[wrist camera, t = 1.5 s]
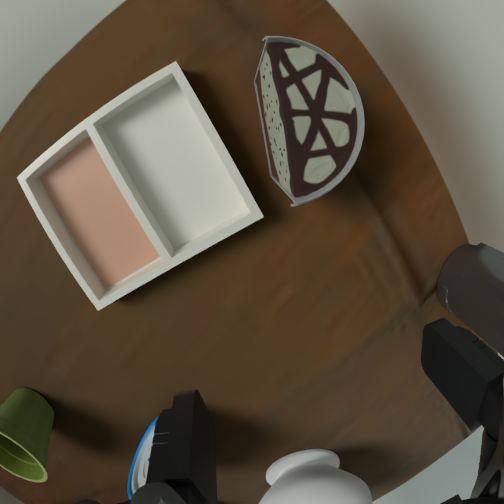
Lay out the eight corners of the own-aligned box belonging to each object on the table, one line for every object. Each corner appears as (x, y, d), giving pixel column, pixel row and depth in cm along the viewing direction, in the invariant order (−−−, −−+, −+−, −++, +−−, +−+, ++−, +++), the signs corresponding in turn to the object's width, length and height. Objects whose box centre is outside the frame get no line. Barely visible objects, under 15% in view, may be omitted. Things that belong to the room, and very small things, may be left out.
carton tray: (180, 69, 26) (175, 61, 23) (259, 210, 31) (263, 217, 28) (32, 174, 27) (16, 177, 24) (106, 297, 32) (98, 310, 29)
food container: (333, 182, 30) (381, 198, 21) (272, 192, 30) (297, 212, 21) (314, 61, 27) (354, 27, 17) (251, 66, 26) (266, 29, 17)
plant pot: (20, 423, 37) (-3, 469, 26) (-6, 368, 33) (-41, 415, 23) (79, 436, 38) (60, 491, 27) (55, 381, 35) (24, 439, 24)
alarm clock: (171, 393, 36) (159, 493, 22) (214, 411, 38) (217, 509, 24) (134, 442, 39) (119, 525, 25) (171, 457, 40) (166, 539, 26)
